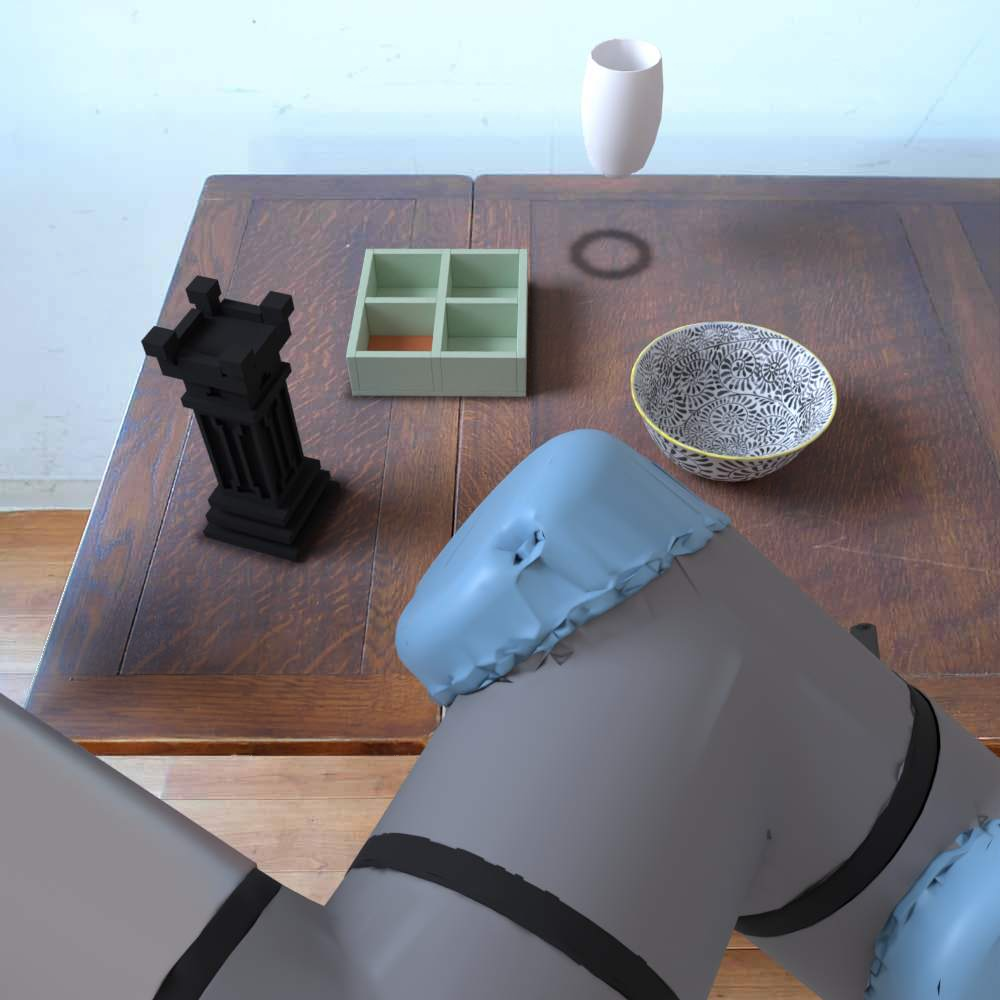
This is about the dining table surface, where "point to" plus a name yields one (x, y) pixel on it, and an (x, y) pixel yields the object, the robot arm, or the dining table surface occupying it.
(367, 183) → the dining table surface
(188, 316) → the chess piece
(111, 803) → the robot arm
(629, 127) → the cup
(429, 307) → the grid
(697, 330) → the bowl
